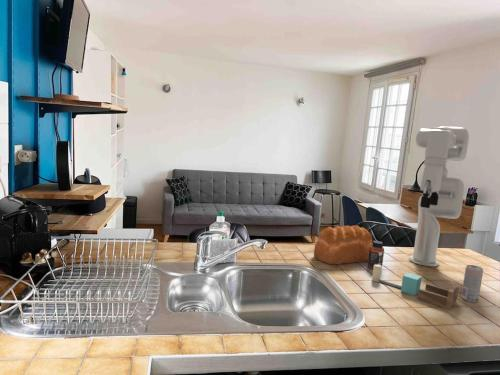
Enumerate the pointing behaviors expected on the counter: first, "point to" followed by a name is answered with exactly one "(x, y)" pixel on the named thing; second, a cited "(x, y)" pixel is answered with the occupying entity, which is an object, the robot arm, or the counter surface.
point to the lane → (439, 295)
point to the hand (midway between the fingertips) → (428, 206)
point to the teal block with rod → (409, 281)
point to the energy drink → (472, 283)
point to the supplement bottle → (376, 254)
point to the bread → (343, 245)
